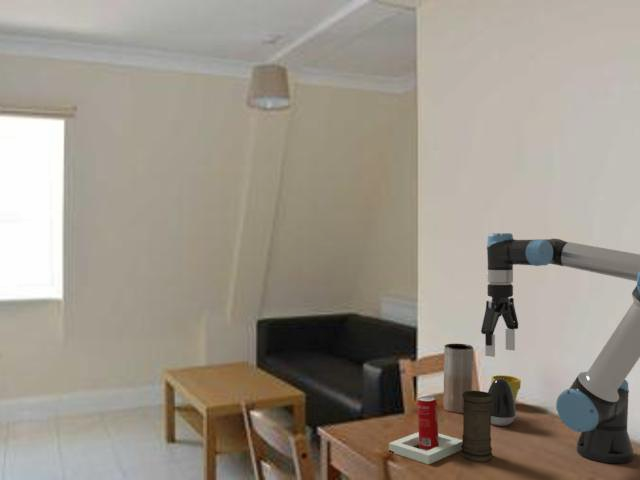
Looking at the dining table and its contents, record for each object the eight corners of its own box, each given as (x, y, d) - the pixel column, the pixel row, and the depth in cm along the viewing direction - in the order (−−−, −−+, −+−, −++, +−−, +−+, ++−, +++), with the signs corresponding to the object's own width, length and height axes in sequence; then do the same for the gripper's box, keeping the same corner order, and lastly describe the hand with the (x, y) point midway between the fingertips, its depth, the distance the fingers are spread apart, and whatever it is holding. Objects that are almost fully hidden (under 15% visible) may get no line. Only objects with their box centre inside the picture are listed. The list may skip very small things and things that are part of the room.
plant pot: (524, 404, 245) (525, 378, 244) (513, 410, 237) (513, 383, 236) (498, 399, 251) (498, 373, 251) (486, 405, 243) (486, 378, 243)
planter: (477, 409, 238) (478, 346, 237) (462, 415, 230) (463, 350, 230) (452, 403, 245) (454, 342, 244) (437, 409, 237) (439, 345, 236)
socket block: (463, 448, 196) (464, 439, 196) (428, 464, 184) (428, 454, 183) (424, 437, 206) (425, 428, 206) (388, 451, 193) (388, 442, 193)
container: (486, 464, 184) (488, 400, 184) (455, 457, 189) (457, 395, 189) (496, 454, 192) (498, 393, 191) (466, 448, 197) (467, 388, 196)
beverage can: (440, 452, 194) (441, 401, 193) (418, 451, 194) (419, 400, 193) (436, 445, 199) (437, 395, 199) (415, 444, 199) (416, 395, 199)
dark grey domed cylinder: (519, 422, 223) (520, 377, 222) (510, 430, 214) (511, 383, 214) (489, 417, 228) (490, 373, 228) (479, 424, 220) (480, 379, 219)
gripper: (506, 280, 214) (507, 346, 215) (469, 285, 196) (469, 357, 196) (529, 281, 209) (529, 348, 210) (492, 286, 191) (493, 360, 191)
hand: (500, 353), depth 203 cm, fingers open, 13 cm apart
